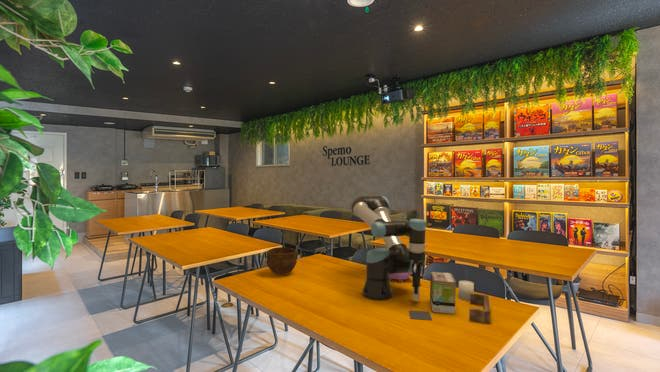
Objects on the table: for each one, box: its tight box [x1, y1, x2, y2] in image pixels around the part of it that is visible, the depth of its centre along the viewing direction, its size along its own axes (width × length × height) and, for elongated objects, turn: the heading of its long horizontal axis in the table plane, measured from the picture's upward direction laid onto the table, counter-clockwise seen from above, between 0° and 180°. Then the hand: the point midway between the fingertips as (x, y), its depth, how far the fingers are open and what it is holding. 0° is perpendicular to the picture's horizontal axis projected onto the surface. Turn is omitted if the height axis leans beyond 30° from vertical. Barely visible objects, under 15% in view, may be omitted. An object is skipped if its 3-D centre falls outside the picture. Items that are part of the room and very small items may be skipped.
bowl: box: [266, 246, 298, 275], centre depth 210 cm, size 19×19×15 cm
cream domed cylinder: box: [458, 280, 475, 302], centre depth 170 cm, size 7×7×8 cm
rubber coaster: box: [408, 309, 433, 321], centre depth 149 cm, size 9×9×1 cm
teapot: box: [389, 272, 412, 283], centre depth 201 cm, size 22×16×14 cm
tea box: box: [429, 271, 457, 315], centre depth 159 cm, size 15×10×15 cm, turn 168°
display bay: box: [468, 292, 491, 324], centre depth 153 cm, size 8×22×5 cm, turn 157°
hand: (416, 299), depth 164 cm, fingers closed
